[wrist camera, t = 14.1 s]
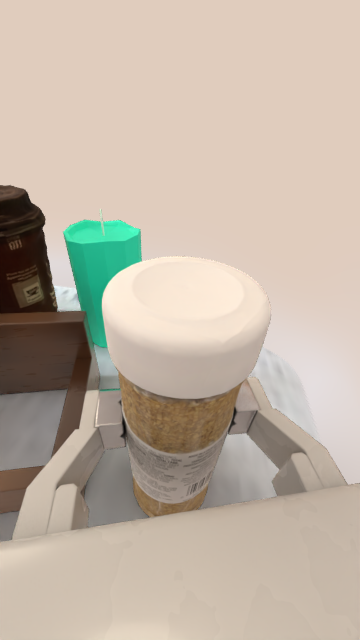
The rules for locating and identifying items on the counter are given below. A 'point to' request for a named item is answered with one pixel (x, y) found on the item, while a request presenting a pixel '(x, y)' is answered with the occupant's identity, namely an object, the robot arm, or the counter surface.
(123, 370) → the sprinkles bottle
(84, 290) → the candle
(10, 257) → the coffee cup
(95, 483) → the counter surface
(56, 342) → the spice rack
